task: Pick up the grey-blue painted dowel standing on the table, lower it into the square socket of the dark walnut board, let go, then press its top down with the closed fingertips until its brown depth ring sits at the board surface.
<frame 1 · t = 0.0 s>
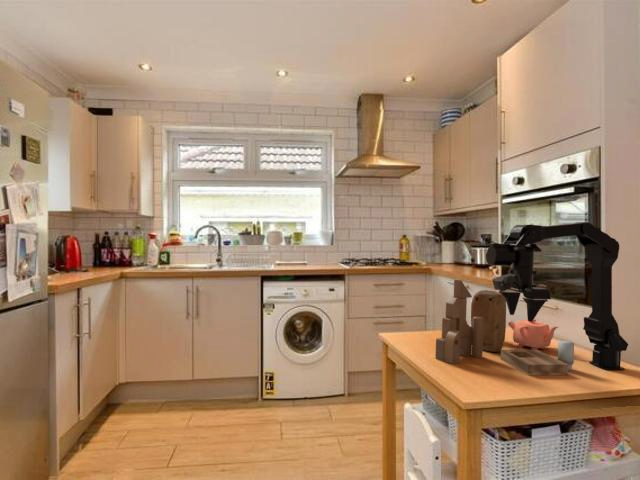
hand: (520, 318, 116), 15 cm above the table, tool pointing down, fingers open, 9 cm apart
board: (532, 366, 117), on the table
teapot: (531, 347, 138), on the table
wooden toy: (459, 358, 123), on the table
syrup box: (480, 338, 149), on the table
peg: (565, 368, 115), on the table
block: (486, 349, 134), on the table
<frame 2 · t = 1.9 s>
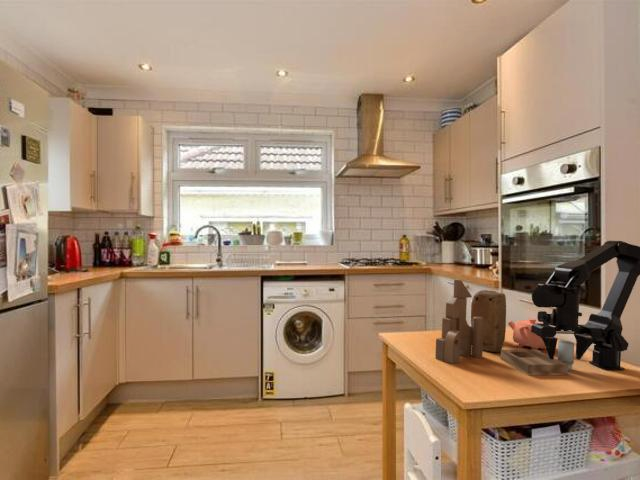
hand: (564, 359, 115), 3 cm above the table, tool pointing down, fingers open, 8 cm apart
nothing on the table moved.
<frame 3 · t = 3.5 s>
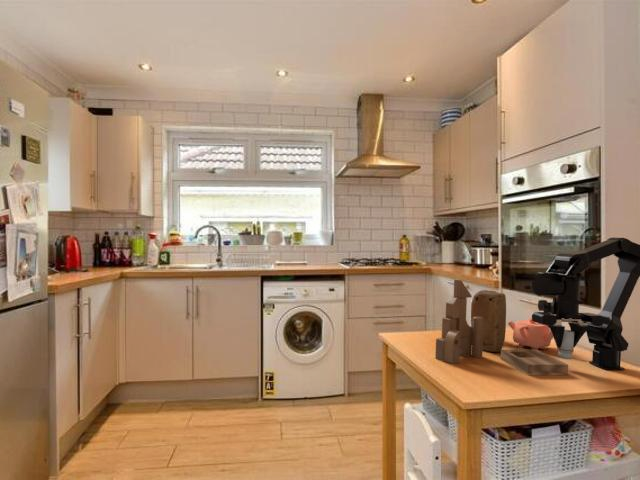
hand: (565, 347, 115), 6 cm above the table, tool pointing down, fingers closed on peg, 4 cm apart
peg: (564, 357, 115), point 3 cm above the table, touching gripper
everything else where it was.
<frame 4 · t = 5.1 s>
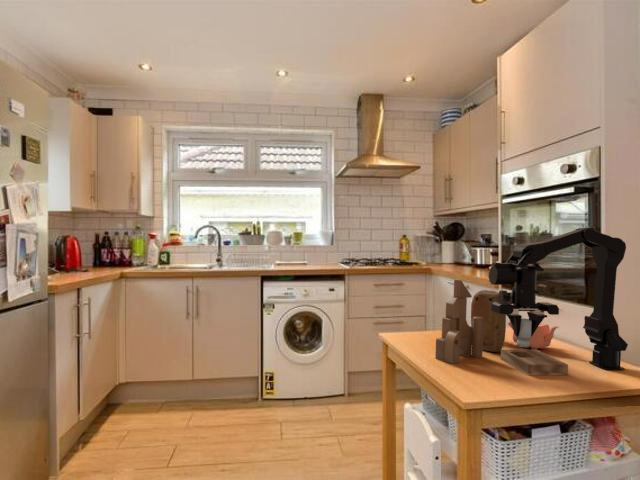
hand: (523, 336, 118), 9 cm above the table, tool pointing down, fingers closed on peg, 4 cm apart
peg: (523, 345, 118), point 6 cm above the table, touching gripper
everything else where it was.
when the fingers open (4 cm above the table, at t = 6.5 s): peg stays where it is, resting on board.
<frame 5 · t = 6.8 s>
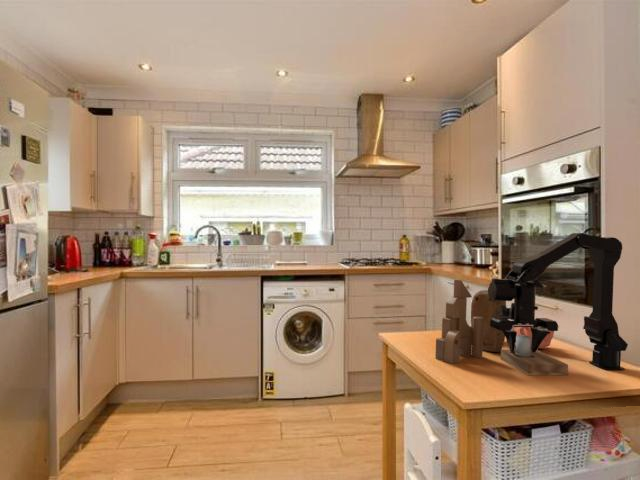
hand: (522, 352, 118), 4 cm above the table, tool pointing down, fingers open, 7 cm apart
peg: (522, 362, 118), point 1 cm above the table, touching board
everything else where it was.
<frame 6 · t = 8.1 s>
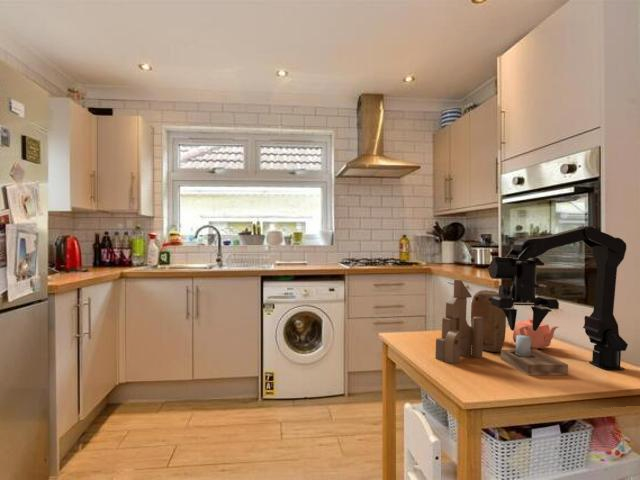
hand: (523, 330, 118), 10 cm above the table, tool pointing down, fingers open, 7 cm apart
nothing on the table moved.
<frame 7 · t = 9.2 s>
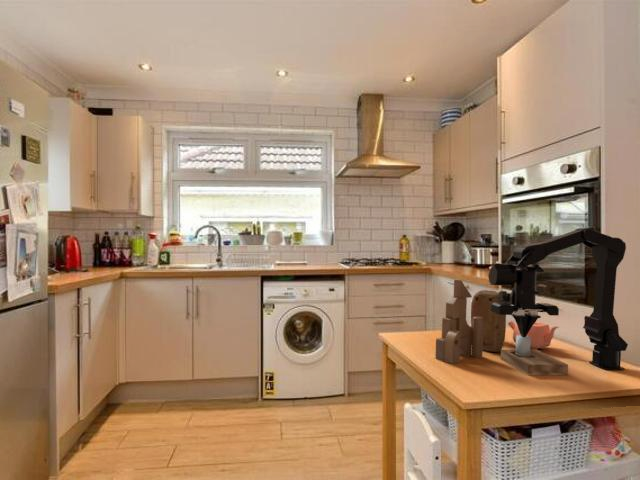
hand: (523, 336, 118), 8 cm above the table, tool pointing down, fingers closed, pressing on peg
peg: (522, 362, 118), resting on board, touching gripper
everything else where it was.
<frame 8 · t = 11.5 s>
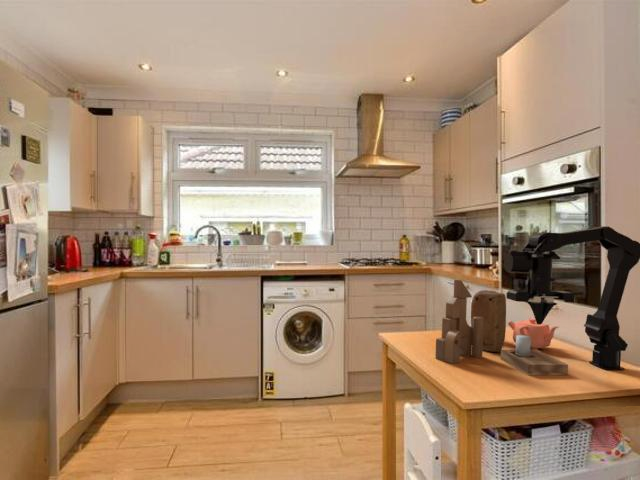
hand: (539, 324, 119), 12 cm above the table, tool pointing down, fingers closed
peg: (522, 362, 118), resting on board
everything else where it was.
at the end: peg 0.1 cm from the target spot on the board, point 0.5 cm above the board's base; peg tilted 0°; the gripper is holding nothing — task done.
